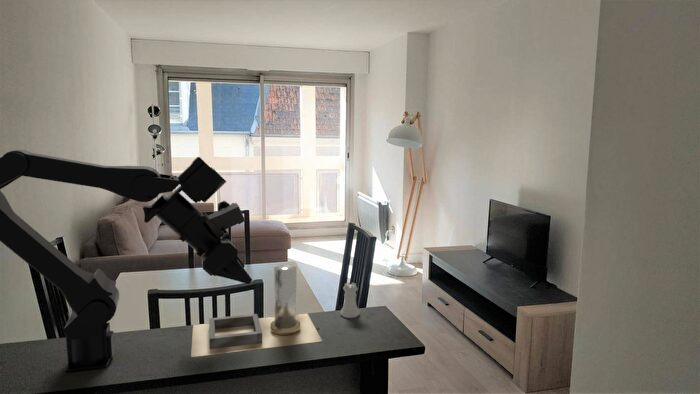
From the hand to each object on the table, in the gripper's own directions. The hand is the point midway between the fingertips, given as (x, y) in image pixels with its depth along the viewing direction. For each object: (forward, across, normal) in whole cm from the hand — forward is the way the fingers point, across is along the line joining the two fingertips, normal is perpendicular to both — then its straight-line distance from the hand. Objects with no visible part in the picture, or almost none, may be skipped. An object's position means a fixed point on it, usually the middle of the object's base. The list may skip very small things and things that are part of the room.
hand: (246, 274), depth 89 cm
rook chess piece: (+25, +2, -7) cm, 27 cm away
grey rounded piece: (+14, -1, +3) cm, 14 cm away
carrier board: (+11, 0, +8) cm, 13 cm away
